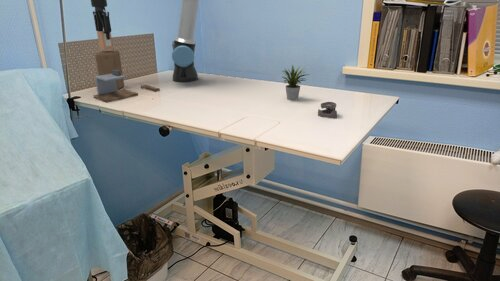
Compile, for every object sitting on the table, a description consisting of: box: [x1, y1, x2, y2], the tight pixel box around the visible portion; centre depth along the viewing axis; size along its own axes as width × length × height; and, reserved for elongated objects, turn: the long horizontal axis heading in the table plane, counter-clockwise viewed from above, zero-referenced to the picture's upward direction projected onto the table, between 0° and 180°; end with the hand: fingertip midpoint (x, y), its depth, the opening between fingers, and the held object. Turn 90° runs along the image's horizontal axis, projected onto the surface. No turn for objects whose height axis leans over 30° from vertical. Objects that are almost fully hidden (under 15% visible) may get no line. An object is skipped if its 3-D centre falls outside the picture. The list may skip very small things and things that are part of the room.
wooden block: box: [94, 50, 125, 90], centre depth 197 cm, size 10×10×20 cm
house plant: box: [281, 64, 310, 101], centre depth 169 cm, size 14×14×16 cm
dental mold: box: [317, 101, 338, 119], centre depth 148 cm, size 8×7×5 cm
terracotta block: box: [96, 30, 114, 51], centre depth 191 cm, size 5×5×9 cm
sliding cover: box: [94, 69, 126, 95], centre depth 180 cm, size 10×12×12 cm
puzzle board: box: [93, 84, 161, 103], centre depth 188 cm, size 30×14×1 cm, turn 136°
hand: (106, 45), depth 192 cm, fingers closed on terracotta block, 5 cm apart
